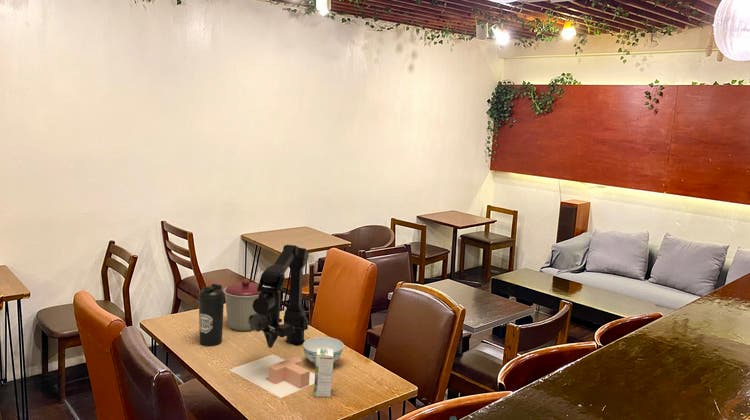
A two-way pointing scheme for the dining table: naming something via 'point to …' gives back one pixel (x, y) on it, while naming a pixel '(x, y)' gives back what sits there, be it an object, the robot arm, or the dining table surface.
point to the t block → (289, 373)
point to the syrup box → (323, 373)
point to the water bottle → (211, 315)
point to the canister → (240, 304)
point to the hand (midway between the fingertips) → (270, 347)
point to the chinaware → (322, 347)
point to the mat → (259, 376)
